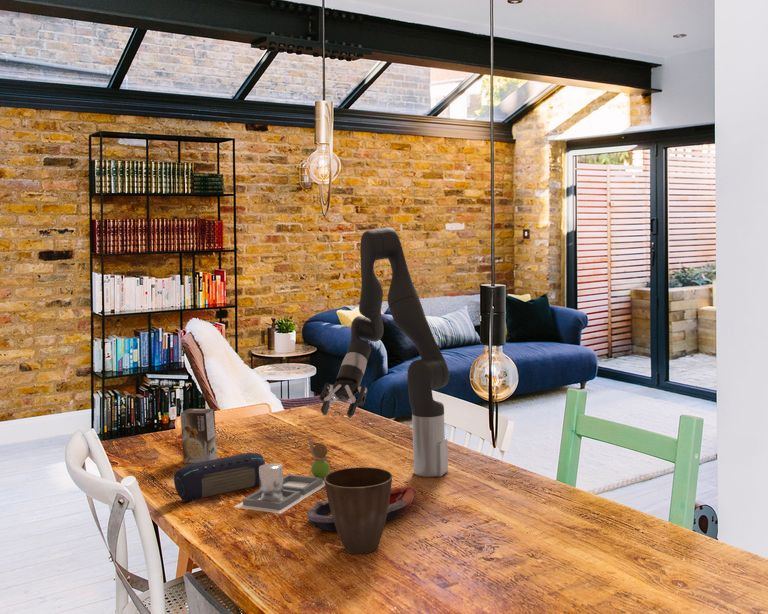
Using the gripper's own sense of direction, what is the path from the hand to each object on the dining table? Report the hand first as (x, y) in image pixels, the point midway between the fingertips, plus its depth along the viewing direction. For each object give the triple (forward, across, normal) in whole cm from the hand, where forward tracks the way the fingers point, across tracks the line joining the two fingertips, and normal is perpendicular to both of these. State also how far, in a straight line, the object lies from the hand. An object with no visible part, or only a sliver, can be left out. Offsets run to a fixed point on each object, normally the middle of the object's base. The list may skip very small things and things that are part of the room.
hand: (336, 414), depth 230 cm
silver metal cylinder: (+36, 0, -16) cm, 39 cm away
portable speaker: (+34, -18, -12) cm, 41 cm away
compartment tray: (+33, 0, -11) cm, 34 cm away
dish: (+37, +26, -14) cm, 47 cm away
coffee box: (+17, -45, +6) cm, 48 cm away
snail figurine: (+20, 0, +3) cm, 20 cm away
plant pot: (+48, +33, -26) cm, 64 cm away
